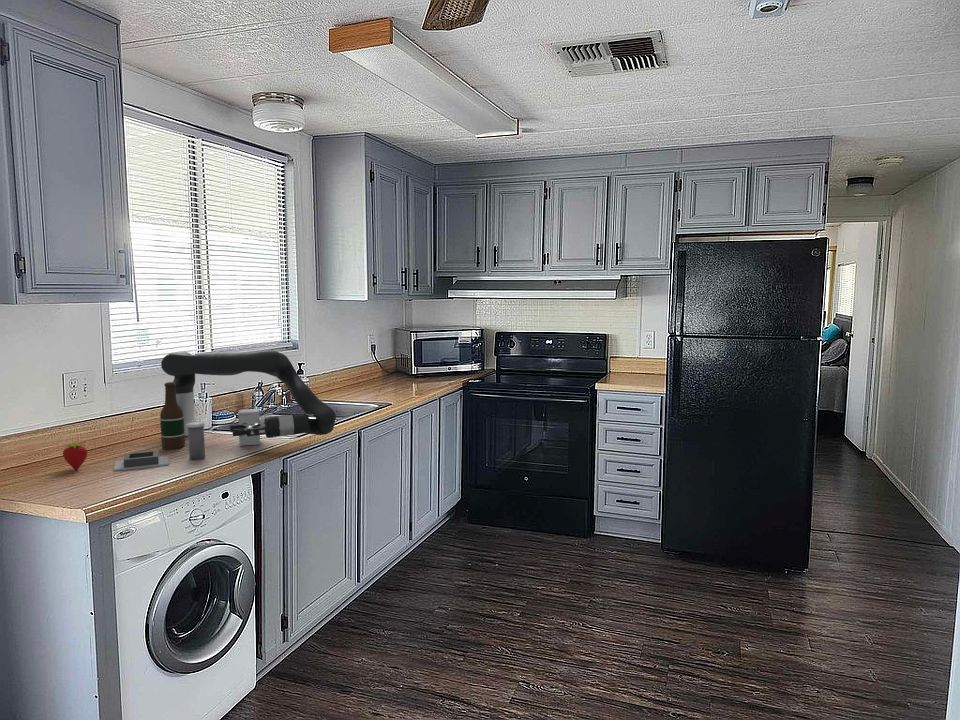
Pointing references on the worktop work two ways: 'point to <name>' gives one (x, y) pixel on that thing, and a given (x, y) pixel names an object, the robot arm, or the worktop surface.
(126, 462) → the grey recessed tray
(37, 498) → the worktop surface
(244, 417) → the supplement box
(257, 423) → the robot arm
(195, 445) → the gray flanged cylinder
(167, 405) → the beer bottle
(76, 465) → the strawberry
